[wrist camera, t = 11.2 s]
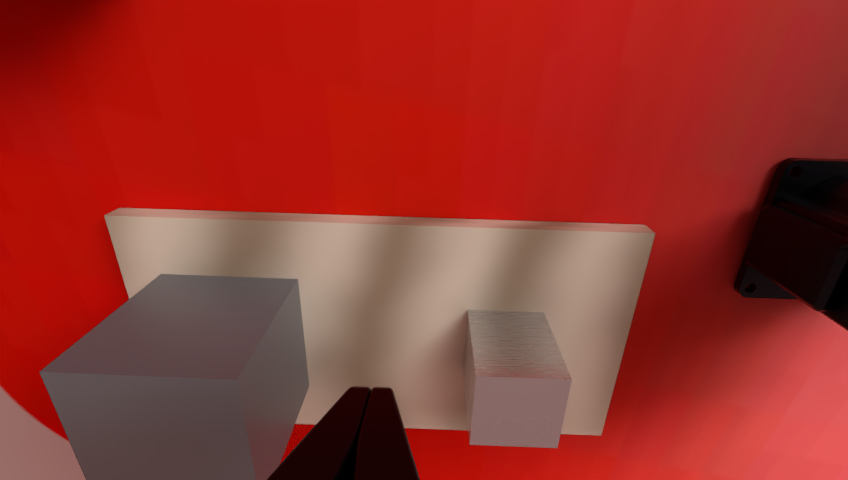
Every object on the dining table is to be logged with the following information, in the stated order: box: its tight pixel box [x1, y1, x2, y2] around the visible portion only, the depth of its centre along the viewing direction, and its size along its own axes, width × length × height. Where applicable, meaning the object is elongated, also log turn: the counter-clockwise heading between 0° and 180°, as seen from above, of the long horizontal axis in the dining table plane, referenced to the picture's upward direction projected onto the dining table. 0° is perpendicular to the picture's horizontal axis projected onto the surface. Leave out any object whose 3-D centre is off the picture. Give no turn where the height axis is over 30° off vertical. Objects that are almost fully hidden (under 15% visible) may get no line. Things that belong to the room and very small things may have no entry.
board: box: [104, 208, 655, 436], centre depth 21 cm, size 24×12×1 cm, turn 89°
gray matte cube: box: [40, 274, 309, 480], centre depth 18 cm, size 6×6×7 cm
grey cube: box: [463, 310, 572, 448], centre depth 19 cm, size 4×4×4 cm
